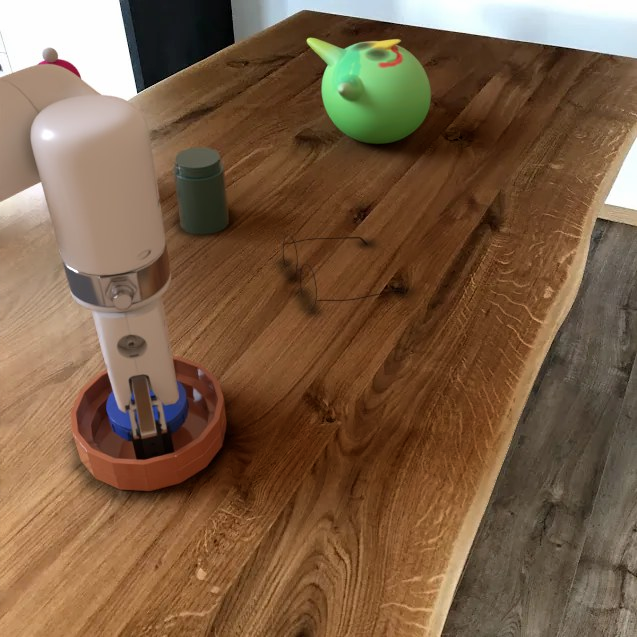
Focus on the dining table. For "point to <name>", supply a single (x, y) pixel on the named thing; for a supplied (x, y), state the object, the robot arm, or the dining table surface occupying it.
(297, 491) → the dining table surface
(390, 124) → the toy bird
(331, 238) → the eyeglasses
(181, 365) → the bowl
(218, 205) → the jar
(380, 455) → the dining table surface
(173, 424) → the lid
